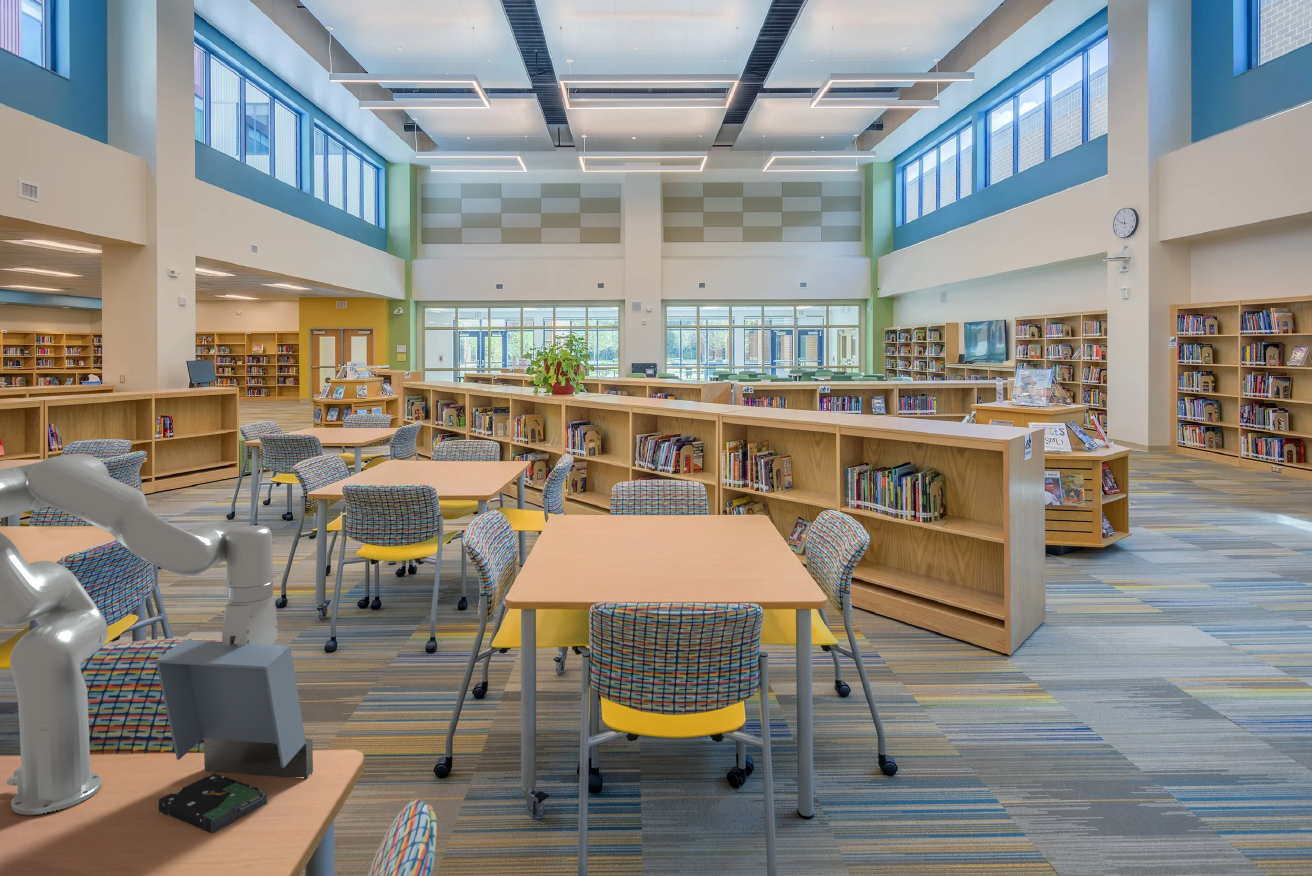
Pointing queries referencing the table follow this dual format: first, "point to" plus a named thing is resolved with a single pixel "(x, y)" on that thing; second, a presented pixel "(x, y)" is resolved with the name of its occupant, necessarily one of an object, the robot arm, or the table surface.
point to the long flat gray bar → (255, 758)
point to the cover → (231, 695)
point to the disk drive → (212, 802)
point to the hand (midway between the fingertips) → (253, 687)
